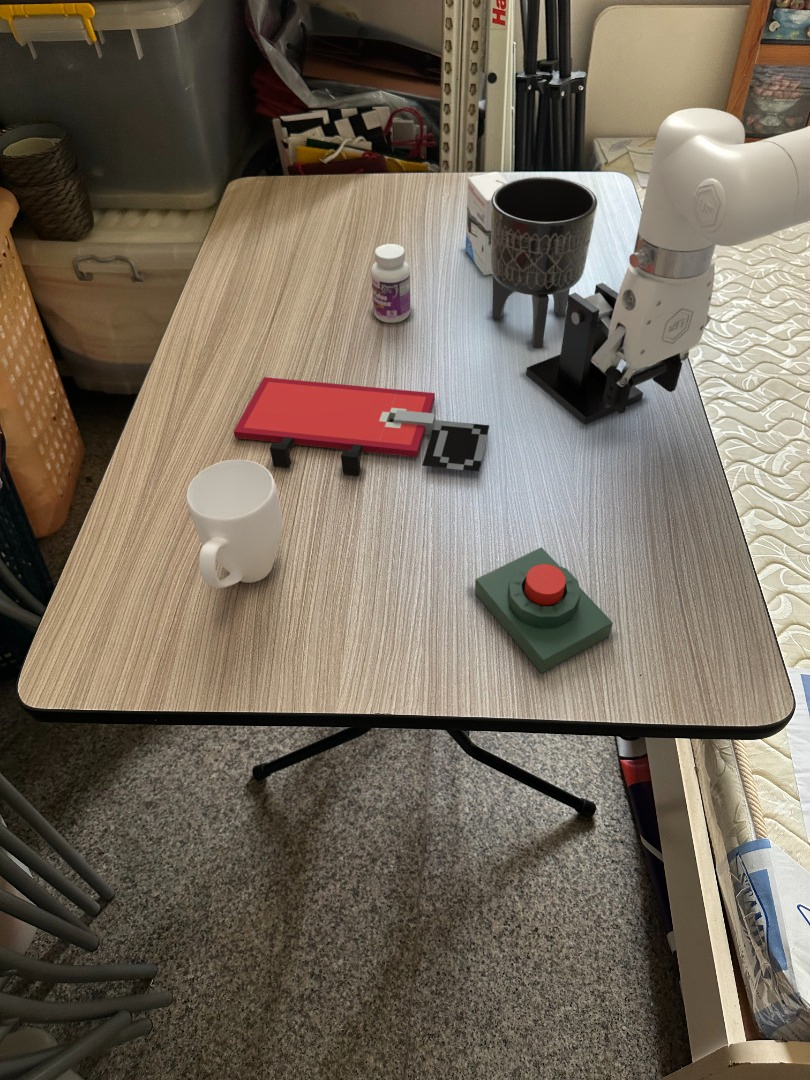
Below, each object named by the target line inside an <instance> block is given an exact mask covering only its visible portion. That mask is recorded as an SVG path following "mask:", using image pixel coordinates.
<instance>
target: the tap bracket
mask: <svg viewBox="0 0 810 1080" xmlns="http://www.w3.org/2000/svg"><path fill="white" fill-rule="evenodd" d="M597 293H600V294H601V295H602V296H603V298H604V299H605V300H606V301H607V302H608V304H609V305H610V306H611V307H612V309H613V311H614V307H615V304H616V300H617V297H618V294H619V292H617V291H615V289H612V288H611V287H609V286H608V285H607V284H605V283H603V282H600V283H598V284H595V288H594V294H597ZM599 311H600V310H599V309H598V308H596V307H595V306H594V305H592V304H591V303H589V302H588V301H587V300H585V298H584V297H583V296H581V295H580V294H578V293H577V292H573V293H571V294H570V293H569V296H568V303H567V308H566V314H565V318H564V326H563V334H562V341H561V348H560V354H556V355H555V356H552V357H550V358H547V359H544V360H542V361H540V362H536V363H534V364H531V365H529V366H527V367H526V368H525V369H526V371H525V376H526V377H528V378H529V379H530V380H531V381H532V382H533V383H535V384H536V385H537V386H538V387H539V388H540V389H542V390H543V391H544V392H545V393H546V394H547V395H549V397H551V398H552V399H553V400H554V401H555V402H557V403H558V404H559V405H560V406H561V407H562V408H564V409H565V410H566V411H567V412H568V413H570V414H571V415H572V416H573V417H574V418H576V419H577V421H579V422H580V423H581V424H582V425H584V426H586V425H589V424H590V423H593V422H595V421H597V420H600V419H602V418H604V417H606V416H607V417H608V416H609V415H611V414H614V413H617V412H616V411H615V410H614V409H613V408H611V407H610V406H609V405H608V404H606V403H605V402H604V400H603V396H604V391H605V386H606V381H607V376H606V375H605V374H604V373H602V372H601V371H600V370H599V369H598V368H597V367H596V366H595V365H594V364H593V363H592V362H591V359H592V357H593V356H594V354H595V353H596V352H597V351H598V350H599V349H600V347H601V346H602V345H603V344H604V343H605V342H606V341H607V339H608V337H607V336H606V334H605V333H604V332H603V330H602V329H601V328H600V327H599V326H598V327H597V323H598V317H599ZM613 311H612V313H611V315H610V317H609V318H610V319H612V315H613ZM643 396H644V392H643V391H642V390H640V389H639V388H638V387H637V386H633V387H631V389H630V393H629V398H628V402H627V407H630V406H632V405H634V404H637V403H639V402H641V401H642V400H643ZM627 407H626V408H627Z"/></svg>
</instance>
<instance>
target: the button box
mask: <svg viewBox="0 0 810 1080" xmlns="http://www.w3.org/2000/svg"><path fill="white" fill-rule="evenodd" d="M541 564H548V565H552V566H555V567H557V568H558V569H560V570H561V571H562V572H563V574H564V576H565V579H566V583H565V588H564V594H563V597H562V599H561V600H560V601H559V602H557V603H556V604H553V605H549V606H542V605H538V604H536V603H534V602H532V601H531V600H530V599H529V598H528V597H527V595H526V593H525V583H526V576H527V573H528V571H529V570H530V569H531V568H532V567H534V566H537V565H541ZM474 582H475V585H474V594H475V595H476V596H477V597H478V599H479V600H480V601H481V602H482V604H483V605H484V606H485V607H486V608H487V610H488V611H489V612H490V613H491V614H492V616H493V617H494V618H495V619H496V620H497V622H498V623H499V624H500V625H501V627H502V628H503V629H504V630H505V632H506V633H507V634H508V635H509V636H510V637H511V639H512V640H513V641H514V643H516V645H517V646H518V647H519V649H521V651H522V652H523V653H524V655H525V657H527V658H528V659H529V661H530V663H532V664H533V666H534V667H535V668H536V669H537V671H539V673H540V674H543V673H545V672H547V671H548V670H550V669H552V668H554V667H556V666H557V665H559V664H561V663H563V662H565V661H566V660H568V659H570V658H572V657H574V656H575V655H578V654H579V653H581V652H583V651H585V650H587V649H588V648H590V647H592V646H594V645H595V644H597V643H599V642H602V641H603V640H605V639H606V638H608V637H610V635H611V631H612V627H613V624H614V622H613V621H612V620H611V619H610V617H608V616H607V615H606V613H605V612H604V611H603V610H602V609H601V608H600V607H599V606H598V605H597V604H596V603H595V602H594V601H593V600H592V599H591V598H590V596H589V595H588V594H587V593H586V592H585V591H583V589H582V588H581V587H580V584H579V581H578V579H577V578H576V577H575V576H574V575H573V574H572V573H571V572H570V571H569V570H568V569H567V568H566V567H563V566H561V565H559V564H558V563H557V562H556V560H554V559H553V558H552V556H551V555H550V554H549V553H548V552H547V551H546V550H545V549H544V548H543V547H538V548H537V549H535V550H532V551H531V552H528V553H526V554H524V555H522V556H521V557H518V558H516V559H514V560H512V561H509V562H508V563H506V564H504V565H502V566H499V567H498V568H496V569H493V570H492V571H489V572H487V573H486V574H484V575H481V576H480V577H477V578H476V579H475V581H474Z"/></svg>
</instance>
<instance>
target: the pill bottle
mask: <svg viewBox="0 0 810 1080" xmlns="http://www.w3.org/2000/svg"><path fill="white" fill-rule="evenodd" d="M405 260H406V255H405V248H404V247H403V246H401V245H399V244H395V243H385V244H382V245H379V246H378V247H376V249H375V251H374V261H375V262H374V263H373V265H372V266H371V270H370V276H371V290H372V291H371V292H372V307H373V314H374V317H375V318H376V319H378V320H379V321H380V322H383V323H387V324H395V323H396V324H397V323H400V322H402V321H404V320H406V319H408V317H409V316H410V314H411V270H410V266H409V264H408V262H406V261H405Z"/></svg>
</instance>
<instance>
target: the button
mask: <svg viewBox="0 0 810 1080" xmlns="http://www.w3.org/2000/svg"><path fill="white" fill-rule="evenodd" d="M565 583H566V579H565V576H564V574H563V572H562V571H561V570H560V569H558V568H557V567H555V566H552V565H548V564H541V565H537V566H534V567H532V568H531V569H530V570H529V571H528V573H527V576H526V583H525V593H526V595H527V597H528V598H529V599H530V600H531V601H532V602H534V603H536V604H538V605H542V606H549V605H553V604H556V603H557V602H559V601H560V600H561V599H562V597H563V594H564V588H565Z"/></svg>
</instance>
